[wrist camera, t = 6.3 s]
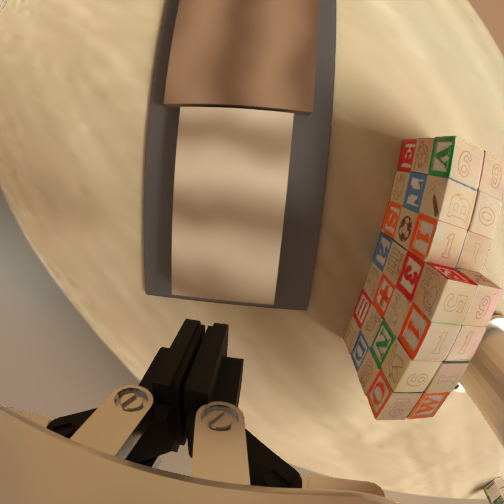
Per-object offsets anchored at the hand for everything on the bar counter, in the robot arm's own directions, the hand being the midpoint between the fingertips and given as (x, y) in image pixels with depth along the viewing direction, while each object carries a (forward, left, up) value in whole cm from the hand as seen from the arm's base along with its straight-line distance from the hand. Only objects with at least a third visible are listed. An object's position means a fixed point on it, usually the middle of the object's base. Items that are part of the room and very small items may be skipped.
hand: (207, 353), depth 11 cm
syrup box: (-87, +73, -17) cm, 115 cm away
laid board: (+1, -18, -16) cm, 25 cm away
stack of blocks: (-16, 0, -17) cm, 24 cm away
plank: (+1, -3, -16) cm, 16 cm away
